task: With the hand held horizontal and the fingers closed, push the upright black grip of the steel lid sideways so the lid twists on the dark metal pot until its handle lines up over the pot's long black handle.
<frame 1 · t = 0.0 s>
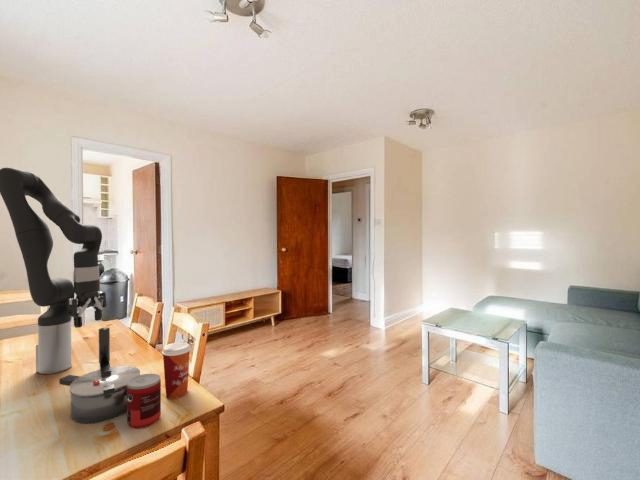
hand: (88, 323, 111), 17 cm above the table, tool pointing down, fingers open, 8 cm apart
pot: (106, 406, 88), on the table
canned food: (144, 421, 82), on the table
lid: (106, 359, 89), point 14 cm above the table, hinge at 0.0°
coffee cup: (176, 394, 96), on the table
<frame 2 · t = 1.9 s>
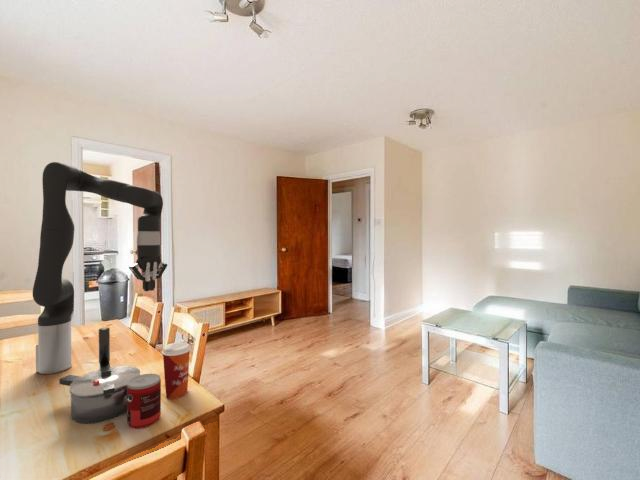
hand: (149, 290, 113), 29 cm above the table, tool pointing down, fingers closed
nothing on the table moved.
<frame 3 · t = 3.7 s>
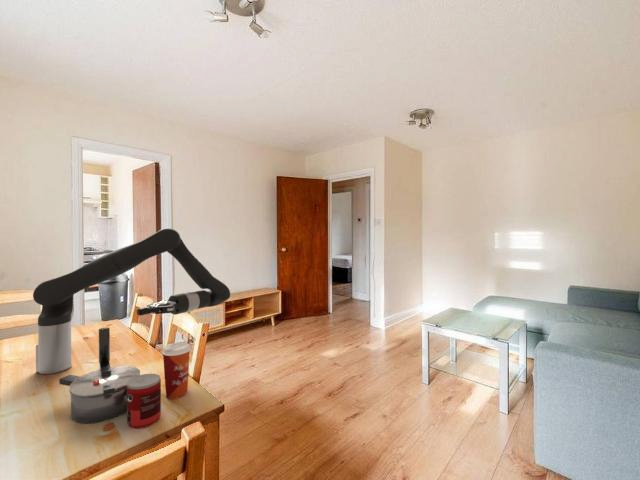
hand: (138, 312, 105), 23 cm above the table, tool horizontal, fingers closed
nothing on the table moved.
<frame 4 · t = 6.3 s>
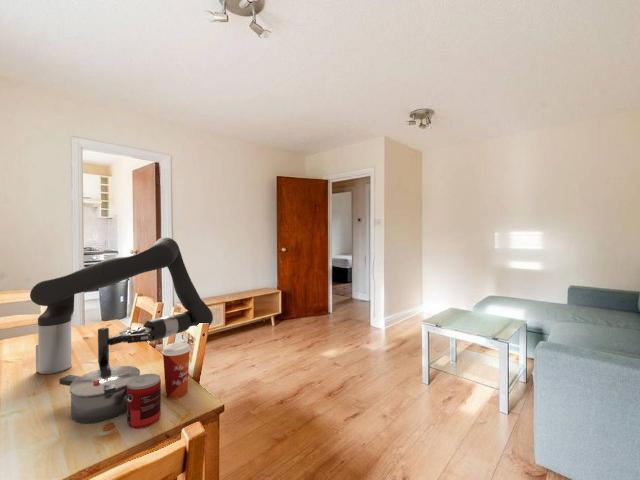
hand: (108, 341, 98), 15 cm above the table, tool horizontal, fingers closed
lid: (106, 359, 89), point 14 cm above the table, hinge at 1.1°, touching gripper
everything else where it was.
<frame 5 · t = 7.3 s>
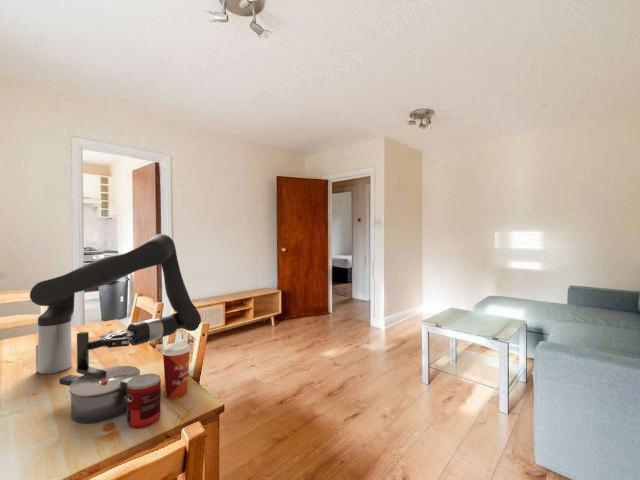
hand: (87, 346, 94), 15 cm above the table, tool horizontal, fingers closed
lid: (104, 359, 88), point 14 cm above the table, hinge at 29.3°, touching gripper
everything else where it was.
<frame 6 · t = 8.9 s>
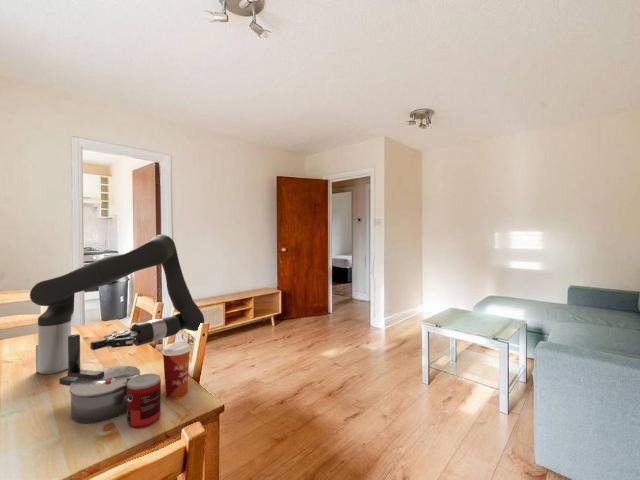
hand: (91, 346, 94), 16 cm above the table, tool horizontal, fingers closed
lid: (104, 359, 88), point 14 cm above the table, hinge at 42.3°
everything else where it was.
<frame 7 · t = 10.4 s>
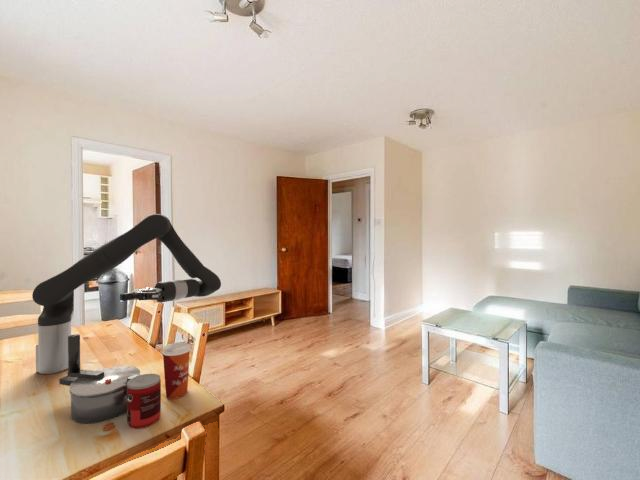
hand: (120, 297, 101), 29 cm above the table, tool horizontal, fingers closed
nothing on the table moved.
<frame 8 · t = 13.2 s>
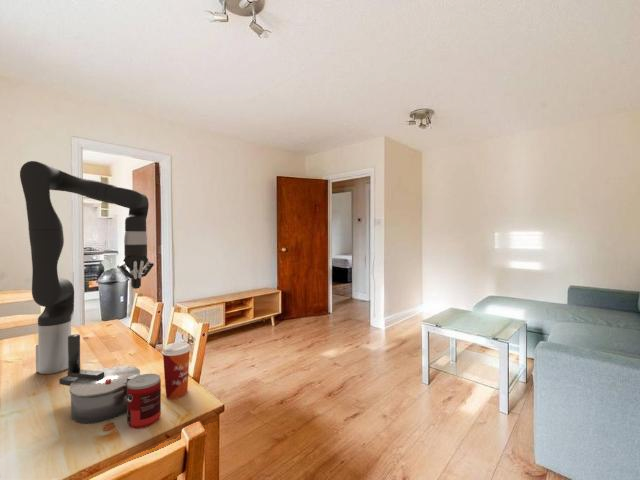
hand: (136, 288, 118), 29 cm above the table, tool pointing down, fingers closed
nothing on the table moved.
at the end: lid at +42° (first picture: +0°); lid touching nothing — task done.
